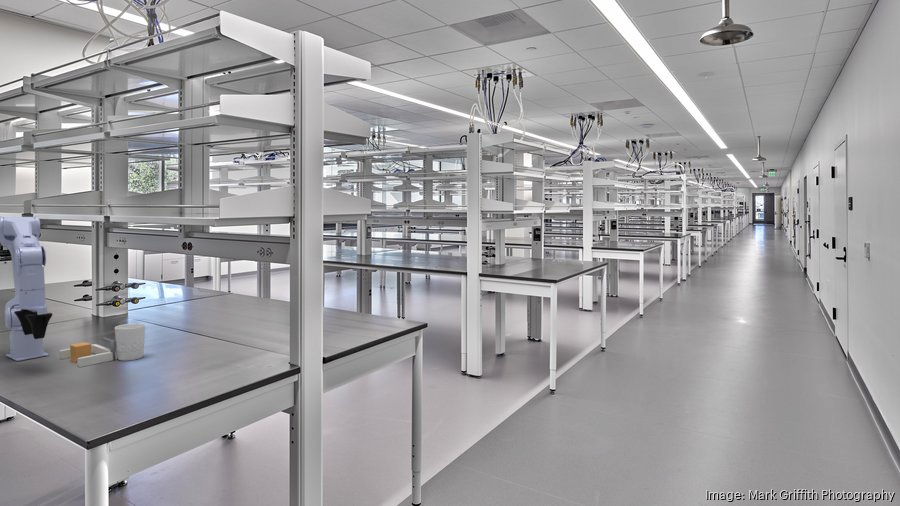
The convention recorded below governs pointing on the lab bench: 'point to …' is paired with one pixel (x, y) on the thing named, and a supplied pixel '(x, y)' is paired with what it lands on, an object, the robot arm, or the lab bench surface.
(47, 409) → the lab bench surface
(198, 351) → the lab bench surface
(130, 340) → the white cup
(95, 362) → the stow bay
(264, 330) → the lab bench surface
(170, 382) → the lab bench surface
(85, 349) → the tan wooden cube
